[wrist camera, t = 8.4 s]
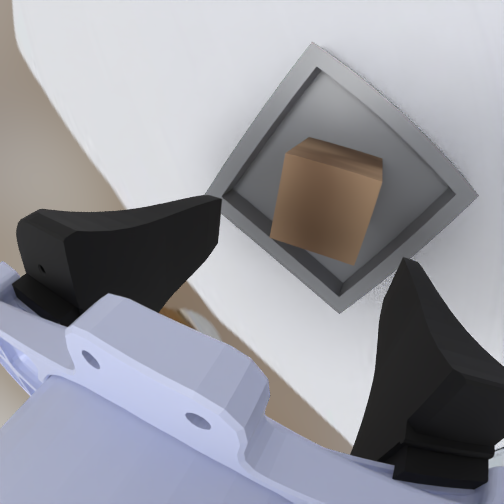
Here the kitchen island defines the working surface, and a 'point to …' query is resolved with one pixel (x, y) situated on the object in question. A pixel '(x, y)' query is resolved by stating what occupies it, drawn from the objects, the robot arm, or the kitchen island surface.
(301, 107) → the tray
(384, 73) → the kitchen island surface
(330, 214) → the walnut block
